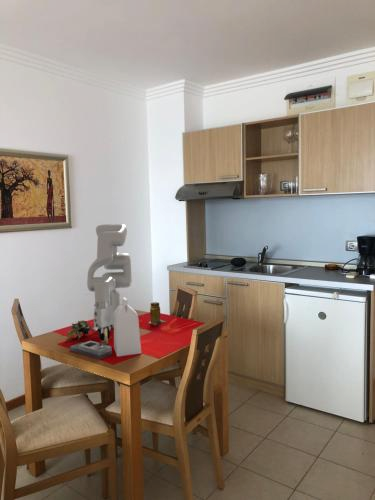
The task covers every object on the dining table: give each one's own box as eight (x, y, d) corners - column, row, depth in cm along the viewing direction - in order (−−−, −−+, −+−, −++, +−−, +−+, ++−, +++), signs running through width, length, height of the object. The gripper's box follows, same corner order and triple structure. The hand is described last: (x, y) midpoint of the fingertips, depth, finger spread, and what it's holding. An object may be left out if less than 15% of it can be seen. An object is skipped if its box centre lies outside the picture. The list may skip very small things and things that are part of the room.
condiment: (147, 322, 250) (147, 303, 249) (159, 319, 255) (158, 300, 254) (154, 325, 244) (153, 305, 243) (166, 322, 249) (165, 302, 248)
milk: (141, 353, 199) (138, 300, 196) (117, 356, 196) (114, 302, 193) (137, 345, 210) (134, 295, 207) (114, 348, 207) (111, 297, 204)
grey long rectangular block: (70, 350, 206) (69, 341, 205) (82, 345, 212) (82, 337, 211) (99, 359, 192) (99, 350, 192) (111, 354, 198) (111, 345, 198)
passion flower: (84, 345, 229) (97, 326, 229) (78, 348, 218) (91, 329, 219) (68, 333, 230) (80, 315, 230) (61, 336, 219) (74, 317, 219)
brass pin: (100, 343, 214) (99, 326, 213) (106, 341, 216) (105, 324, 215) (103, 344, 211) (102, 327, 210) (109, 343, 213) (108, 326, 212)
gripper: (94, 309, 202) (97, 345, 205) (119, 301, 215) (121, 335, 218) (85, 306, 207) (87, 342, 209) (110, 299, 220) (111, 333, 222)
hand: (104, 338), depth 213 cm, fingers closed on brass pin, 3 cm apart
